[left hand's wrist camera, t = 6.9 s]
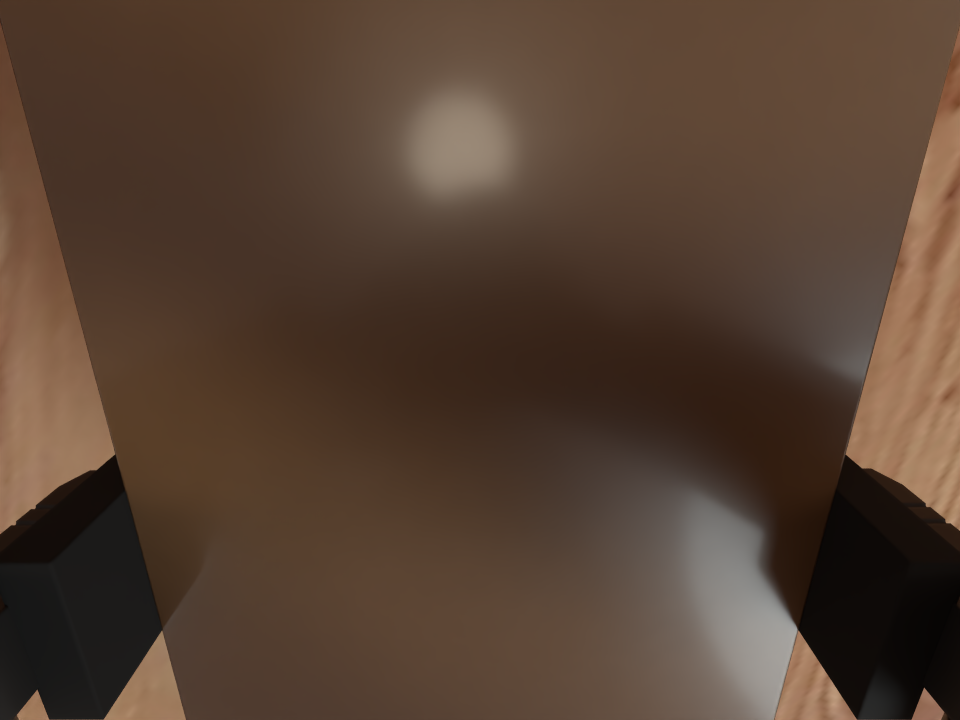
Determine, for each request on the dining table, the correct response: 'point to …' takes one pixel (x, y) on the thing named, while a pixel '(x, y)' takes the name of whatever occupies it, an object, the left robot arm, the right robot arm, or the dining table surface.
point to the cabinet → (480, 330)
